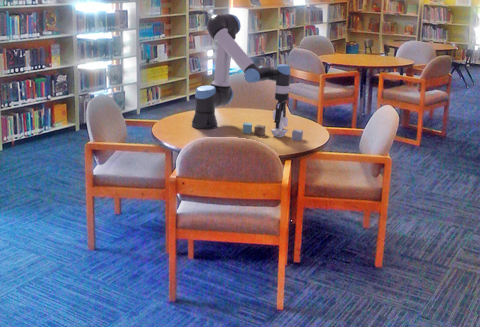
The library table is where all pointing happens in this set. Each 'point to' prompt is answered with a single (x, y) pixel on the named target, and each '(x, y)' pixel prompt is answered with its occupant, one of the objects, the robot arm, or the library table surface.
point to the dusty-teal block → (247, 127)
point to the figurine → (282, 131)
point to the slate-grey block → (297, 135)
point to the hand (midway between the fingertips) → (279, 132)
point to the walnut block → (259, 130)
